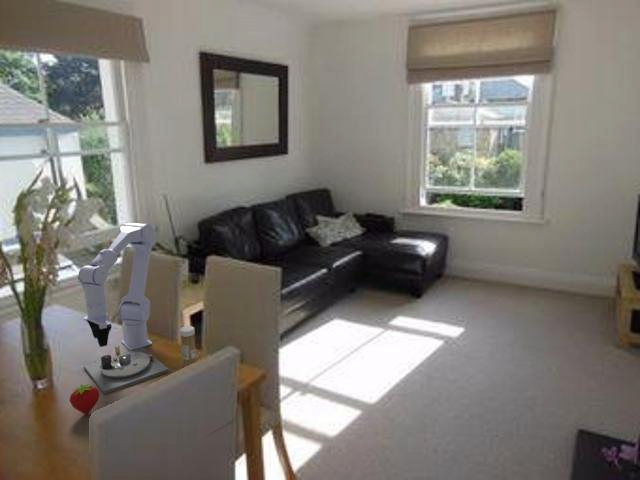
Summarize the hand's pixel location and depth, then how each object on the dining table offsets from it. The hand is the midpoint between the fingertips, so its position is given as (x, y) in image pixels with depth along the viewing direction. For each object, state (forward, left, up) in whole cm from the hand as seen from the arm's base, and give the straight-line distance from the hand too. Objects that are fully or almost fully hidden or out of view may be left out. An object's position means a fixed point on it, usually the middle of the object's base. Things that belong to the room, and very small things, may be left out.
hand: (100, 341), depth 159 cm
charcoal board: (+6, +5, -9) cm, 12 cm away
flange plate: (+6, +6, -8) cm, 12 cm away
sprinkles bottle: (+17, +22, -10) cm, 30 cm away
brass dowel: (-2, +6, -9) cm, 11 cm away
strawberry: (+23, -12, -10) cm, 28 cm away
